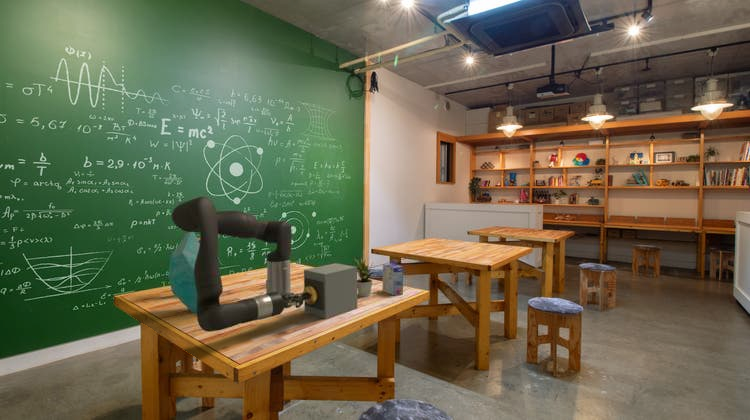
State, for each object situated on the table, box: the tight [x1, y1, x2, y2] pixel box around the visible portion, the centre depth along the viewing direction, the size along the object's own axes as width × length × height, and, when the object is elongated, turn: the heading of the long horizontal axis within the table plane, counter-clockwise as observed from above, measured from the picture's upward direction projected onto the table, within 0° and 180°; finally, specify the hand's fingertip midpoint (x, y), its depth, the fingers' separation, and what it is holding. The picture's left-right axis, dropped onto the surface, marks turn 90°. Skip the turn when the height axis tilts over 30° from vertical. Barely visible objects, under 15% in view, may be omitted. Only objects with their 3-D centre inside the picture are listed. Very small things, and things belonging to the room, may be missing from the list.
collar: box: [303, 277, 324, 311], centre depth 134 cm, size 1×10×10 cm, turn 49°
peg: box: [302, 285, 319, 304], centre depth 137 cm, size 15×6×6 cm, turn 139°
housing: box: [303, 262, 358, 320], centre depth 140 cm, size 16×12×16 cm
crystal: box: [167, 232, 200, 313], centre depth 139 cm, size 12×14×30 cm
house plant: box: [348, 258, 378, 298], centre depth 161 cm, size 14×14×16 cm
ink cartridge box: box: [382, 259, 404, 296], centre depth 163 cm, size 10×6×14 cm, turn 27°
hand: (308, 295), depth 132 cm, fingers closed
